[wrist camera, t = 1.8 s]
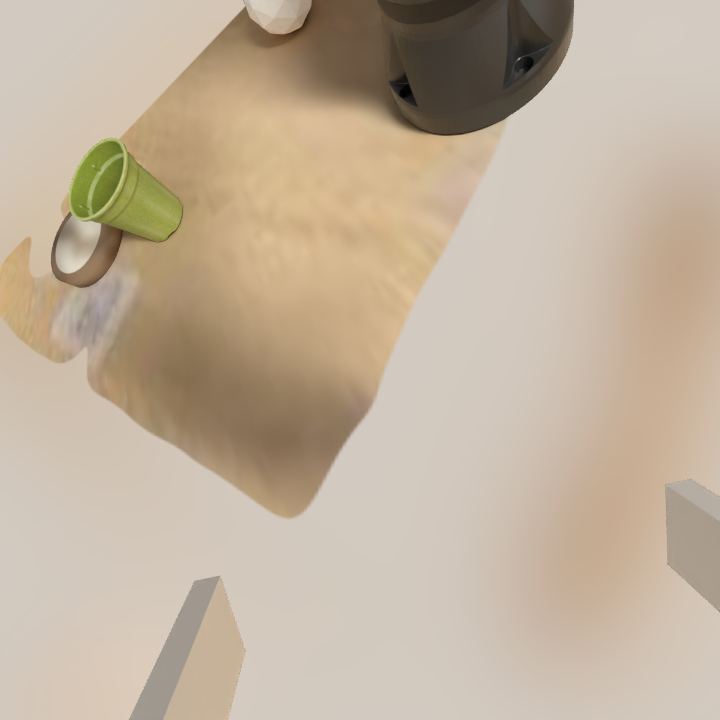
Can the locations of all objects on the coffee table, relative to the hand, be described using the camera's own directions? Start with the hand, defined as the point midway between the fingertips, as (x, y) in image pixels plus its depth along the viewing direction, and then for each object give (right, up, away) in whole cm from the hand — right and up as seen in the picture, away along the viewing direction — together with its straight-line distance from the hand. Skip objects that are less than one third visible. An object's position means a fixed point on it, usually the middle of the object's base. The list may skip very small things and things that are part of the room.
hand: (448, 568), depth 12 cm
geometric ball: (-10, +45, +35) cm, 58 cm away
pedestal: (-40, +22, +44) cm, 63 cm away
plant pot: (-27, +23, +38) cm, 52 cm away
